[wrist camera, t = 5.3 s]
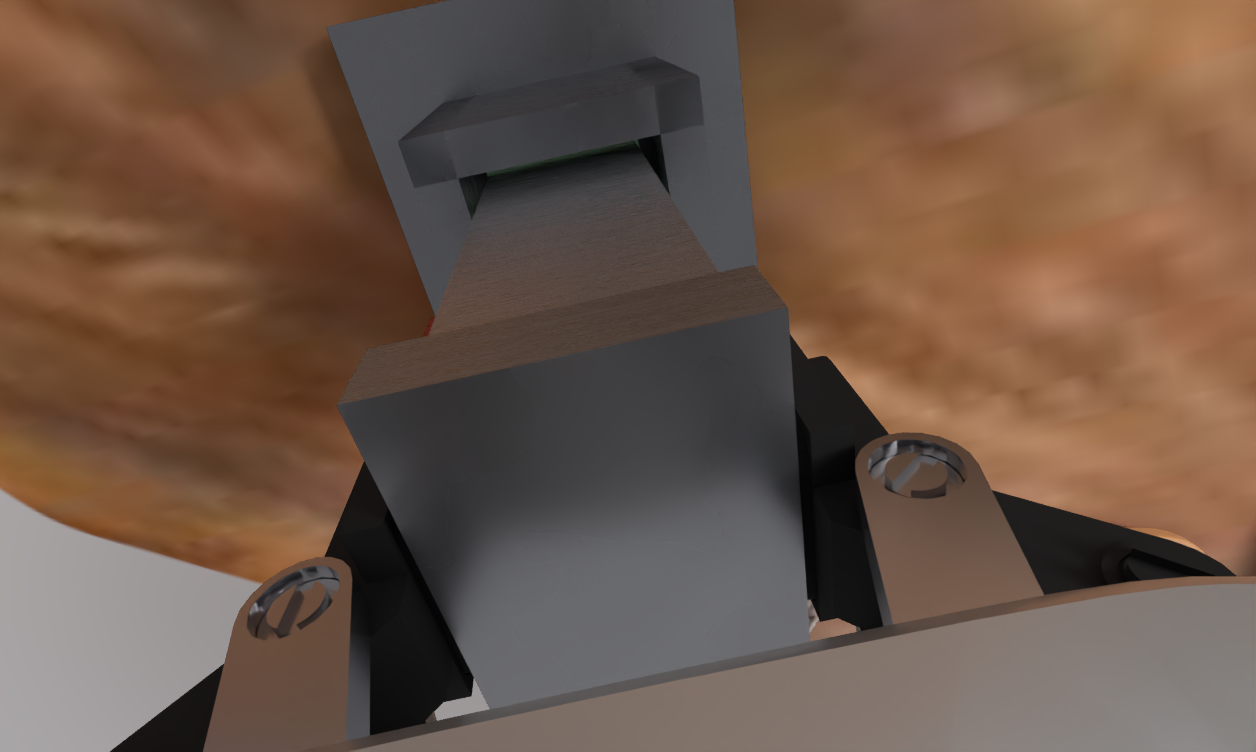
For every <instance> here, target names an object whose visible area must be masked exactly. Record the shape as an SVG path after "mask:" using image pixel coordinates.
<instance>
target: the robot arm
mask: <svg viewBox="0 0 1256 752" xmlns="http://www.w3.org/2000/svg"><path fill="white" fill-rule="evenodd" d="M790 345H791V360H792V376H793V391H794V406H795V421H796V436H797V451H798V466H799V481H800V496H801V511H802V527H803V542H804V557H805V572H806V587H807V600H811V602H812V604H813V607H814V609H815V611H816V613H817V616H818V618H819V620H820V622H821V621H826V620H831V619H835V618H839V619H841V620H843V621H846V622H848V623H850V624H852V625H855V626H856V630H857V632H855V633H850V634H845V635H840V636H835V637H830V638H826V639H821V640H816V641H811V642H806V643H801V644H797V645H792V646H787V647H782V648H777V649H773V650H768V651H763V652H758V653H753V654H748V655H744V656H739V657H734V658H729V659H724V660H719V661H715V662H710V663H705V664H701V665H696V666H691V667H686V668H682V669H677V670H672V671H668V672H663V673H658V674H653V675H649V676H644V677H639V678H635V679H630V680H625V681H620V682H616V683H611V684H606V685H602V686H597V687H592V688H588V689H583V690H578V691H574V692H569V693H564V694H560V695H555V696H550V697H546V698H541V699H536V700H531V701H527V702H522V703H517V704H513V705H508V706H503V707H499V708H494V709H490V710H485V711H480V712H475V713H471V714H467V715H462V716H457V717H453V718H448V719H443V720H439V721H437V720H436V717H435V713H434V711H435V710H436V709H437V708H438V707H439V706H440V705H441V704H442V703H443V702H446V701H451V700H456V699H460V698H465V697H470V696H471V695H472V688H473V679H474V677H473V675H472V673H471V671H470V669H469V667H468V665H467V663H466V661H465V659H464V657H463V655H462V653H461V651H460V649H459V647H458V645H457V643H456V641H455V639H454V637H453V635H452V633H451V631H450V629H449V627H448V625H447V623H446V621H445V619H444V617H443V615H442V613H441V611H440V609H439V607H438V605H437V603H436V601H435V599H434V597H433V595H432V593H431V591H430V589H429V588H428V586H427V584H426V582H425V580H424V578H423V576H422V574H421V572H420V570H419V568H418V566H417V564H416V562H415V560H414V558H413V556H412V554H411V552H410V550H409V548H408V546H407V544H406V542H405V540H404V538H403V536H402V534H401V532H400V530H399V528H398V526H397V524H396V522H395V520H394V518H393V516H392V514H391V512H390V510H389V508H388V506H387V504H386V502H385V500H384V498H383V496H382V494H381V492H380V490H379V488H378V486H377V484H376V483H375V481H374V479H373V477H372V475H371V473H370V471H369V469H368V467H367V465H366V463H365V461H364V463H363V465H362V468H361V470H360V473H359V475H358V477H357V480H356V482H355V485H354V487H353V489H352V492H351V494H350V497H349V499H348V501H347V504H346V506H345V509H344V511H343V514H342V516H341V518H340V521H339V523H338V526H337V528H336V530H335V533H334V535H333V538H332V540H331V542H330V545H329V547H328V550H327V552H326V555H325V557H317V558H313V559H309V560H306V561H302V562H299V563H297V564H295V565H292V566H290V567H288V568H286V569H284V570H282V571H280V572H279V573H277V574H276V575H275V576H273V577H272V578H270V579H269V580H267V581H266V582H265V583H263V584H262V585H261V586H260V587H259V588H258V589H257V590H256V591H255V592H254V593H253V594H252V595H251V596H250V597H249V599H248V600H247V601H246V603H245V604H244V605H243V607H242V608H241V609H240V611H239V613H238V616H237V618H236V620H235V623H234V626H233V630H232V634H231V638H230V643H229V647H228V651H227V655H226V659H225V663H224V664H223V665H222V666H220V667H219V668H218V669H216V670H215V671H214V672H213V673H211V674H210V675H209V676H207V677H206V678H205V679H203V680H202V681H201V682H200V683H198V684H197V685H196V686H194V687H193V688H192V689H190V690H189V691H188V692H187V693H185V694H184V695H183V696H181V697H180V698H179V699H178V700H176V701H175V702H174V703H172V704H171V705H170V706H168V707H167V708H166V709H165V710H163V711H162V712H161V713H159V714H158V715H157V716H155V717H154V718H153V719H152V720H151V721H149V722H148V723H146V724H145V725H144V726H142V727H141V728H140V729H139V730H137V731H136V732H135V733H133V734H132V735H131V736H129V737H128V738H127V739H126V740H124V741H123V742H122V743H120V744H119V745H118V746H117V747H115V748H114V749H113V750H112V751H110V752H1256V576H1236V575H1235V574H1233V573H1232V572H1231V571H1230V570H1229V569H1227V568H1226V567H1225V566H1224V565H1223V564H1221V563H1220V562H1218V561H1216V560H1214V559H1213V558H1211V557H1209V556H1207V555H1206V554H1204V553H1202V552H1200V551H1198V550H1196V549H1193V548H1191V547H1188V546H1185V545H1182V544H1180V543H1177V542H1174V541H1172V540H1168V539H1164V538H1161V537H1157V536H1154V535H1150V534H1146V533H1143V532H1139V531H1136V530H1132V529H1129V528H1125V527H1121V526H1118V525H1114V524H1111V523H1107V522H1104V521H1100V520H1096V519H1093V518H1089V517H1086V516H1082V515H1079V514H1075V513H1071V512H1068V511H1064V510H1061V509H1057V508H1054V507H1050V506H1046V505H1043V504H1039V503H1036V502H1032V501H1029V500H1025V499H1021V498H1018V497H1014V496H1011V495H1007V494H1003V493H1000V492H996V491H993V490H991V488H990V486H989V484H988V482H987V480H986V478H985V476H984V474H983V472H982V470H981V468H980V466H979V464H978V462H977V461H976V460H975V459H974V457H973V456H972V455H971V453H970V452H968V451H967V450H965V449H964V448H962V447H961V446H959V445H958V444H957V443H954V442H952V441H949V440H947V439H944V438H942V437H939V436H934V435H929V434H924V433H904V432H903V433H896V434H890V435H889V434H888V432H887V431H886V430H885V429H884V427H883V426H882V425H881V424H880V422H879V421H878V420H877V418H876V417H875V416H874V415H873V413H872V412H871V411H870V410H869V408H868V407H867V406H866V405H865V403H864V402H863V401H862V399H861V398H860V397H859V396H858V394H857V393H856V392H855V391H854V389H853V388H852V387H851V385H850V384H849V383H848V382H847V380H846V379H845V378H844V377H843V375H842V374H841V373H840V372H839V370H838V369H837V368H836V366H835V365H834V364H833V363H832V361H831V360H830V359H829V358H828V357H826V356H820V357H815V358H811V359H808V358H807V357H806V356H805V354H804V353H803V352H802V350H801V349H800V347H799V346H798V345H797V343H796V342H795V341H794V339H793V338H792V336H791V335H790Z"/></svg>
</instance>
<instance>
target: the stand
mask: <svg viewBox="0 0 1256 752" xmlns="http://www.w3.org/2000/svg"><path fill="white" fill-rule="evenodd" d="M326 29H327V31H328V34H329V37H330V39H331V42H332V45H333V47H334V50H335V52H336V55H337V58H338V60H339V63H340V66H341V68H342V71H343V74H344V76H345V79H346V82H347V84H348V87H349V90H350V92H351V95H352V97H353V100H354V103H355V105H356V108H357V111H358V113H359V116H360V119H361V121H362V124H363V127H364V129H365V132H366V134H367V137H368V140H369V142H370V145H371V148H372V150H373V153H374V156H375V158H376V161H377V164H378V166H379V169H380V172H381V174H382V177H383V179H384V182H385V185H386V187H387V190H388V193H389V195H390V198H391V201H392V203H393V206H394V209H395V211H396V214H397V216H398V219H399V222H400V224H401V227H402V230H403V232H404V235H405V238H406V240H407V243H408V246H409V248H410V251H411V254H412V256H413V259H414V261H415V264H416V267H417V269H418V272H419V275H420V277H421V280H422V283H423V285H424V288H425V291H426V293H427V296H428V298H429V301H430V304H431V306H432V309H433V312H434V314H435V317H436V314H437V311H438V309H439V306H440V303H441V301H442V298H443V295H444V293H445V290H446V287H447V285H448V282H449V280H450V277H451V274H452V272H453V269H454V266H455V264H456V261H457V258H458V256H459V253H460V250H461V248H462V245H463V242H464V240H465V237H466V235H467V232H468V229H469V227H470V224H471V221H472V219H473V216H474V213H475V211H476V208H477V205H478V203H479V200H480V197H481V195H482V192H483V190H484V187H485V184H486V182H487V179H488V175H487V172H490V171H495V170H499V169H504V168H508V167H513V166H518V165H522V164H527V163H531V162H536V161H540V160H545V159H550V158H554V157H559V156H563V155H568V154H572V153H577V152H582V151H586V150H591V149H595V148H600V147H605V146H609V145H614V144H618V143H623V142H627V141H632V140H637V139H638V144H639V148H640V150H641V151H642V153H643V155H644V156H645V158H646V159H647V161H648V162H649V164H650V166H651V167H652V169H653V170H654V172H655V173H656V175H657V176H658V178H659V180H660V181H661V183H662V184H663V186H664V187H665V189H666V191H667V192H668V194H669V195H670V197H671V198H672V200H673V201H674V203H675V205H676V206H677V208H678V209H679V211H680V212H681V214H682V215H683V217H684V219H685V220H686V222H687V223H688V225H689V226H690V228H691V230H692V231H693V233H694V234H695V236H696V237H697V239H698V240H699V242H700V244H701V245H702V247H703V248H704V250H705V251H706V253H707V255H708V256H709V258H710V259H711V261H712V262H713V264H714V265H715V267H716V269H717V270H718V272H723V271H728V270H732V269H737V268H741V267H746V266H751V265H755V266H756V268H757V269H758V267H757V255H756V244H755V233H754V222H753V211H752V200H751V188H750V177H749V166H748V155H747V144H746V133H745V122H744V110H743V99H742V88H741V77H740V66H739V55H738V44H737V32H736V21H735V10H734V0H447V1H443V2H438V3H434V4H429V5H424V6H420V7H415V8H411V9H406V10H402V11H397V12H393V13H388V14H383V15H379V16H374V17H370V18H365V19H361V20H356V21H352V22H347V23H342V24H338V25H333V26H329V27H326ZM435 317H432V318H430V320H429V323H428V326H427V328H426V331H425V333H424V336H428V335H429V332H430V330H431V327H432V325H433V322H434V319H435ZM424 336H423V337H424Z"/></svg>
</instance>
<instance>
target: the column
mask: <svg viewBox="0 0 1256 752" xmlns="http://www.w3.org/2000/svg"><path fill="white" fill-rule="evenodd" d="M487 175H488V179H487V182H486V184H485V187H484V190H483V192H482V195H481V197H480V200H479V203H478V205H477V208H476V211H475V213H474V216H473V219H472V221H471V224H470V227H469V229H468V232H467V235H466V237H465V240H464V242H463V245H462V248H461V250H460V253H459V256H458V258H457V261H456V264H455V266H454V269H453V272H452V274H451V277H450V280H449V282H448V285H447V287H446V290H445V293H444V295H443V298H442V301H441V303H440V306H439V309H438V311H437V314H436V317H435V319H434V322H433V325H432V327H431V330H430V332H429V335H428V336H424V337H420V338H415V339H411V340H406V341H401V342H397V343H392V344H388V345H383V346H379V347H374V348H369V349H367V350H366V352H365V354H364V355H363V357H362V359H361V361H360V363H359V365H358V367H357V368H356V370H355V372H354V374H353V376H352V378H351V379H350V381H349V383H348V385H347V387H346V389H345V390H344V392H343V394H342V396H341V398H340V400H339V401H338V403H337V407H338V409H339V411H340V413H341V415H342V417H343V419H344V421H345V423H346V425H347V427H348V429H349V431H350V433H351V435H352V437H353V439H354V441H355V443H356V445H357V447H358V449H359V451H360V453H361V455H362V457H363V459H364V461H365V463H366V465H367V467H368V469H369V471H370V473H371V475H372V477H373V479H374V481H375V483H376V484H377V486H378V488H379V490H380V492H381V494H382V496H383V498H384V500H385V502H386V504H387V506H388V508H389V510H390V512H391V514H392V516H393V518H394V520H395V522H396V524H397V526H398V528H399V530H400V532H401V534H402V536H403V538H404V540H405V542H406V544H407V546H408V548H409V550H410V552H411V554H412V556H413V558H414V560H415V562H416V564H417V566H418V568H419V570H420V572H421V574H422V576H423V578H424V580H425V582H426V584H427V586H428V588H429V589H430V591H431V593H432V595H433V597H434V599H435V601H436V603H437V605H438V607H439V609H440V611H441V613H442V615H443V617H444V619H445V621H446V623H447V625H448V627H449V629H450V631H451V633H452V635H453V637H454V639H455V641H456V643H457V645H458V647H459V649H460V651H461V653H462V655H463V657H464V659H465V661H466V663H467V665H468V667H469V669H470V671H471V673H472V675H473V677H474V678H475V681H476V682H477V685H478V686H479V688H480V691H481V692H482V694H483V696H484V698H485V700H486V702H487V704H488V706H489V708H490V709H494V708H499V707H503V706H508V705H513V704H517V703H522V702H527V701H531V700H536V699H541V698H546V697H550V696H555V695H560V694H564V693H569V692H574V691H578V690H583V689H588V688H592V687H597V686H602V685H606V684H611V683H616V682H620V681H625V680H630V679H635V678H639V677H644V676H649V675H653V674H658V673H663V672H668V671H672V670H677V669H682V668H686V667H691V666H696V665H701V664H705V663H710V662H715V661H719V660H724V659H729V658H734V657H739V656H744V655H748V654H753V653H758V652H763V651H768V650H773V649H777V648H782V647H787V646H792V645H797V644H801V643H806V642H810V632H809V617H808V602H807V587H806V572H805V557H804V542H803V527H802V511H801V496H800V481H799V466H798V451H797V436H796V421H795V406H794V391H793V376H792V360H791V345H790V330H789V315H788V306H787V305H786V304H785V303H784V301H783V300H782V299H781V298H780V296H779V295H778V294H777V293H776V291H775V290H774V289H773V288H772V286H771V285H770V284H769V283H768V281H767V280H766V279H765V278H764V276H763V275H762V274H761V273H760V271H759V270H758V269H757V268H756V266H755V265H751V266H746V267H741V268H737V269H732V270H728V271H723V272H718V270H717V269H716V267H715V265H714V264H713V262H712V261H711V259H710V258H709V256H708V255H707V253H706V251H705V250H704V248H703V247H702V245H701V244H700V242H699V240H698V239H697V237H696V236H695V234H694V233H693V231H692V230H691V228H690V226H689V225H688V223H687V222H686V220H685V219H684V217H683V215H682V214H681V212H680V211H679V209H678V208H677V206H676V205H675V203H674V201H673V200H672V198H671V197H670V195H669V194H668V192H667V191H666V189H665V187H664V186H663V184H662V183H661V181H660V180H659V178H658V176H657V175H656V173H655V172H654V170H653V169H652V167H651V166H650V164H649V162H648V161H647V159H646V158H645V156H644V155H643V153H642V151H641V150H640V148H639V144H638V139H637V140H632V141H627V142H623V143H618V144H614V145H609V146H605V147H600V148H595V149H591V150H586V151H582V152H577V153H572V154H568V155H563V156H559V157H554V158H550V159H545V160H540V161H536V162H531V163H527V164H522V165H518V166H513V167H508V168H504V169H499V170H495V171H490V172H487Z"/></svg>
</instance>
